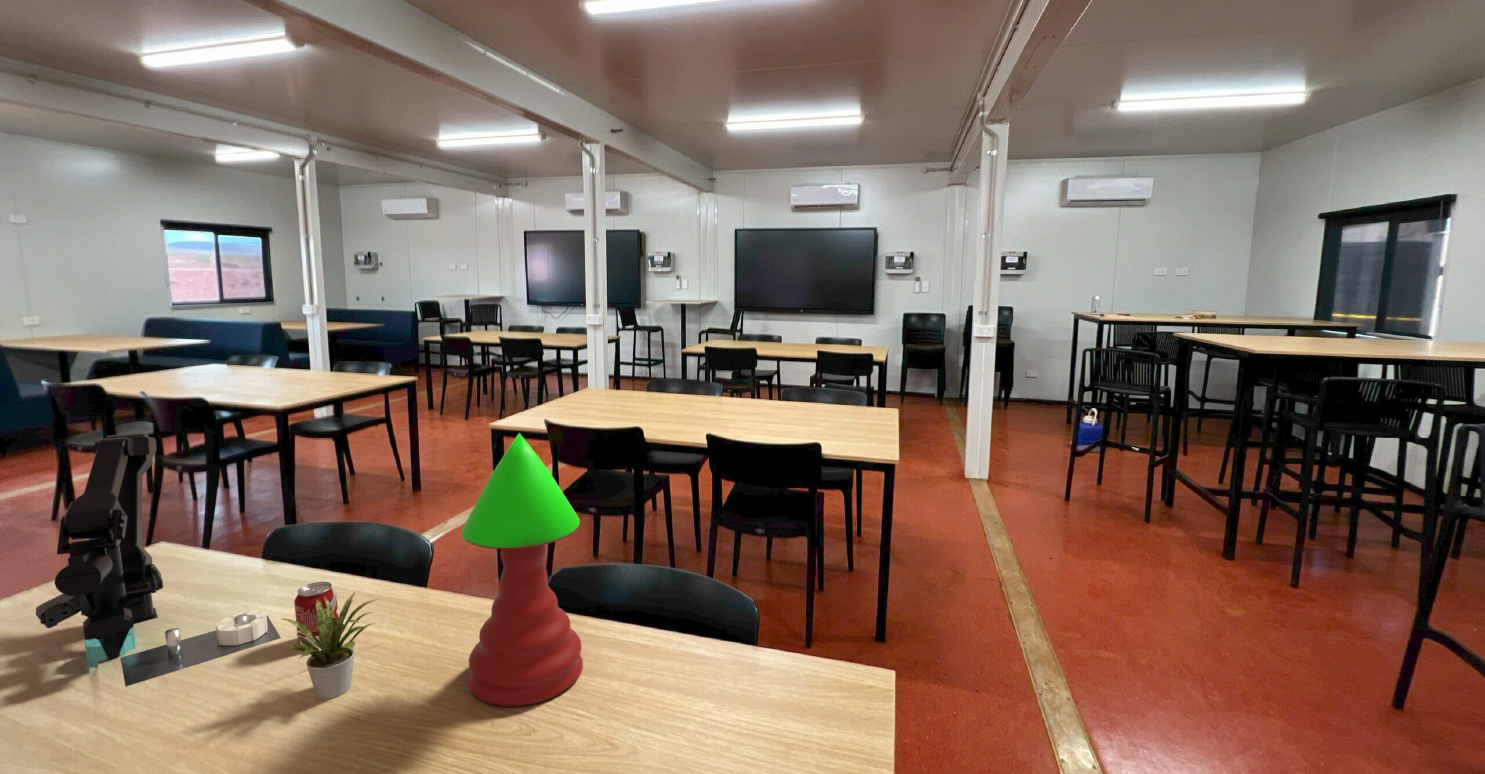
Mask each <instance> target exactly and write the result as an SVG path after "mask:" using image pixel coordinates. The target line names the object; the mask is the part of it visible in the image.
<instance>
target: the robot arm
mask: <svg viewBox="0 0 1485 774" xmlns="http://www.w3.org/2000/svg"><path fill="white" fill-rule="evenodd" d="M93 447H94V448H93V450H94V459H93V462H92V464H91V468H90V470H89V474H88V477H87V480H86V484H85V488H84V491H83V493H82V494H81V495H80V496H79V497H77V498H75V499H74V500H72V501H71V502H70V503H69V505H68V508H67V511H66V512H65V514H64V515H62V517H61V520H60V525H59V533H58V541H57V549H56V554H57V555H58V556H59V555H66V554H69V556H68V558H67V564H65V565H64V566H63V567H62V569H60V570H59V571H58V573H57V574H56V576H55V579H54V586H55V588H56V589H57V591H58V592H60V593H61V594H60V595H57V596H55V597H54V598H51V599H48V600H47V601H45V602H43V603H41V604H39V605H37V607H36V608H35V616H36V617H37V618H38V620H40V622H39V623H40V624H41V625H44V626H45V628H46V629H52V628H54V627H56V626H58V624H60V623H62V622H64V621H65V620H67V619H70V618H71V617H73V616H76V615H77V614H78V613H81V616H82V617H83V616H84V617H87V618H86V619H85V620H84V621H83V622H82V628H83V636H84V641H86V640H91V639H97V640H99V642H100V644H101V645H102V647H103V649H104V651H105V653H106V655H107V657H108V659H109V660H108V661H112V660H116V659H118V658H119V657H120V656H119V654H120V651H121V649H122V646H123V644H124V642H125V639H126V637H127V635H128V632H129V630H130V629H131V628H134V625H136V624H139V623H144V622H147V621H152V620H155V619H158V618H159V617H158V614H157V610H156V608H155V607H154V606H153V605H154V604H153V603H154V602H153V594H156V593H157V592H158V591H160V590H163V589H164V580H163V578H162V574H161V572H160V570H159V569H158V568H157V566H156V565H155V563H153V557H152V556H151V554H150V553H149V552H148V551H147V550H146V549H145V548H144V546H143V476H144V475H145V474H146V472H147V471H148V470H149V469H150V467H151V466H152V465H153V463H154V455H155V454H157V453H156V452H157V449H158V448H157V439H156V438H155V437H153V436H152V437H150V436H149V434H148V433H147V432H139V433H126V434H125V433H124V434H112V435H111V434H110V435H107V436H106V437H105V438H102V439H100V440H95V441H94V446H93ZM70 539H71V540H72V542H71V541H70ZM118 656H119V657H118Z"/></svg>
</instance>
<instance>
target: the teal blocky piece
mask: <svg viewBox="0 0 1485 774" xmlns="http://www.w3.org/2000/svg"><path fill="white" fill-rule="evenodd" d="M84 644H85V645H84V649H85V655H86V660H87V666H88V667H89V668H99V663H98V662H105V661H110V660H109V659H108V657H107V655H106V653H105V651H104V649H103V647H102V645H101V644H100V642H99V640H97V639H91V640H84ZM136 648H137V640H136V633H135V628H134V627H132V628H131V629H130V630H129V632H128V635H127V637H126V639H125V642H124V644H123V646H122V649H121V651H120V654H119V656H118V658H119V657H123V656H126V654H128V653H129V652H131V651H133V650H134V649H136Z"/></svg>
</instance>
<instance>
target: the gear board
mask: <svg viewBox="0 0 1485 774" xmlns="http://www.w3.org/2000/svg"><path fill="white" fill-rule="evenodd" d="M266 618H267V628H268V630H267V632H266V633H264V634H263V635H262V636H260V637H259V638H258V639H256V640H253V641H250V642H246V643H243V644H240V645H235V646H234V645H219V641H218V640H217V632H216V629H215V630H212V631H208V632H205V633H202V634H201V633H200V634H198V635H194V636H191V637H188V638H184V639H182V638H181V637H182V636H181V629H180V627H173V628H169V629H167V630H166V631H165V632H164V635H165V642H166V643H165V644H164V645H160V646H157V647H153V648H150V649H146V650H142V651H139V652H135V653H132V654H129V655H124V656H120V658H121V666H122V671H123V677H124V682H125V687H129V686H132V685H135V684H138V683H142V682H146V681H149V680H151V679H155V678H157V677H161V676H164V675H168V674H171V673H175V672H177V671H180V670H184V669H187V668H191V667H193V666H194V667H195V666H197V665H200V664H202V663H207V662H209V661H212V660H216V659H219V658H223V657H225V656H228V655H231V654H235V653H237V652H241V651H245V650H248V649H251V648H254V647H257V646H260V645H263V644H268V643H270V642H274V641H277V640H280V639H282V637H281V636H280V634H279V632H278V630H277V629H276V627H275V626H274V624H273V622H272V621H271V619H270V617H269V616H268V615H266ZM246 624H248V616H247V614H241V615H238V616H236V617H235V627H239V626H242V625H246Z"/></svg>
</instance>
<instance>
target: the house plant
mask: <svg viewBox="0 0 1485 774" xmlns="http://www.w3.org/2000/svg"><path fill="white" fill-rule="evenodd" d="M355 594H356V592H353V593H352V594H350V596H349V597H348V598H347V599H346V600H345V602H344V604H343V606H342V609H341V611H340V612H339V614H338V622H337V620H336V616H335V617H334V612H333V610H334V609H335V608H336V607H335V608H334V609H333V608H332V606H331V604H330V603H329V601H328V600H327V599H326V598H325V596H324V599H325V602H326V605H327V609H328V614H327V611H326V610H325V609H324V607H323V606H322V604H321V602H320V601H318V600H317V601H316V612H317V622H318V629H319V638H320V641H321V642H320V641H319V640H318V639H317V638H316V637H315V636H314V635H313V634H312V633H311V631H310V630H309V629H307V628H306V627H305V626H304V625H302V624H301V623H299V622H296V620H292V619H291V618H279V619H280V620H282V621H286V622H288V623H290V624H291V625H294V626H295V627H296V628H297V627H298V628H299V629H300V630H302V631H303V632H304V633H305V634H304V633H302V632H300V631H297V630H295V632H296V636H297V638H298V637H299V638H300V640H301V642H302V643H303V644H304V645H306V646H304V645H298V644H295V645H293V646H290V647H289V649H291V650H295V651H298V652H299V651H300V652H301V654H300V656H299V658H298V660H300V659H301V658H303V657H306V656H309V655H310V656H309V657H308V658H307V660H306V662H305V663H306V664H305V665H306V668H307V670H308V674H309V677H310V680H311V683H312V687H313V690H314V693H315V697H317V698H318V699H322V700H329V699H335V698H338V697H340V696H342V695H344V694H346V693H347V692H348V691H349V690H351V687H352V683H353V682H352V681H353V673H354V664H355V654H356V653H355V652H356V651H355V649H354V646H355V645H356V642H355V641H354V640H355V639H356V637H357V636H358V635H360V633H361V632H363V631H364V630H366V629H367V628H368V627H369V626H372V625H374V624H376V622H371V623H368V624H366V625H360V626H355V627H354V625H356V623H359V620H361V619H362V618H363V617H364V616H366V615H369V614H371V613H373V611H370V612H365V613H362V614H361V615H359V616H358V617H357V618H356V619H353V617H354V616H355V615H356V614H357V613H358V612H359V611H360V610H361V609H362V608H364V607H365V606H366V605H368V604H370V603H372V602H375V601H377V600H378V598H376V599H372V600H371V599H370V600H368V601H366V602H363V603H362V604H359V605H358V606H357V607H356V608H355V609H354V610H353V611H352V612H351V613H350V615H349V616H348V617H347V614H348V612H349V609H350V608H351V606H352V603H353V601H354V600H353V598H354V597H355ZM346 617H347V620H346V621H345V619H346ZM344 622H345V623H344ZM349 623H351V625H350V627H349V629H348V630H347V632H346V633H345V634H344V635H343V633H344V631H345V630H346V628H347V626H348V624H349ZM356 631H357V632H356ZM297 632H298V633H302V634H304V635H305V636H307V637H309V638H310V639H311V640H312V641H313V642H314V643H315V644H316V645H317V646H318V647H319V648H320V649H318V648H316V647H315V646H314V645H313V644H311V643H310V642H309V641H307V640H306V639H305V638H304V637H303V636H301V635H299V634H297ZM354 632H356V633H355V634H354V635H353V636H352V638H351V639H350V640H349V641H347V642H346V643H344V642H345V641H346V639H348V637H350V635H352V634H353V633H354ZM342 635H343V636H342ZM341 636H342V637H341Z"/></svg>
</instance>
